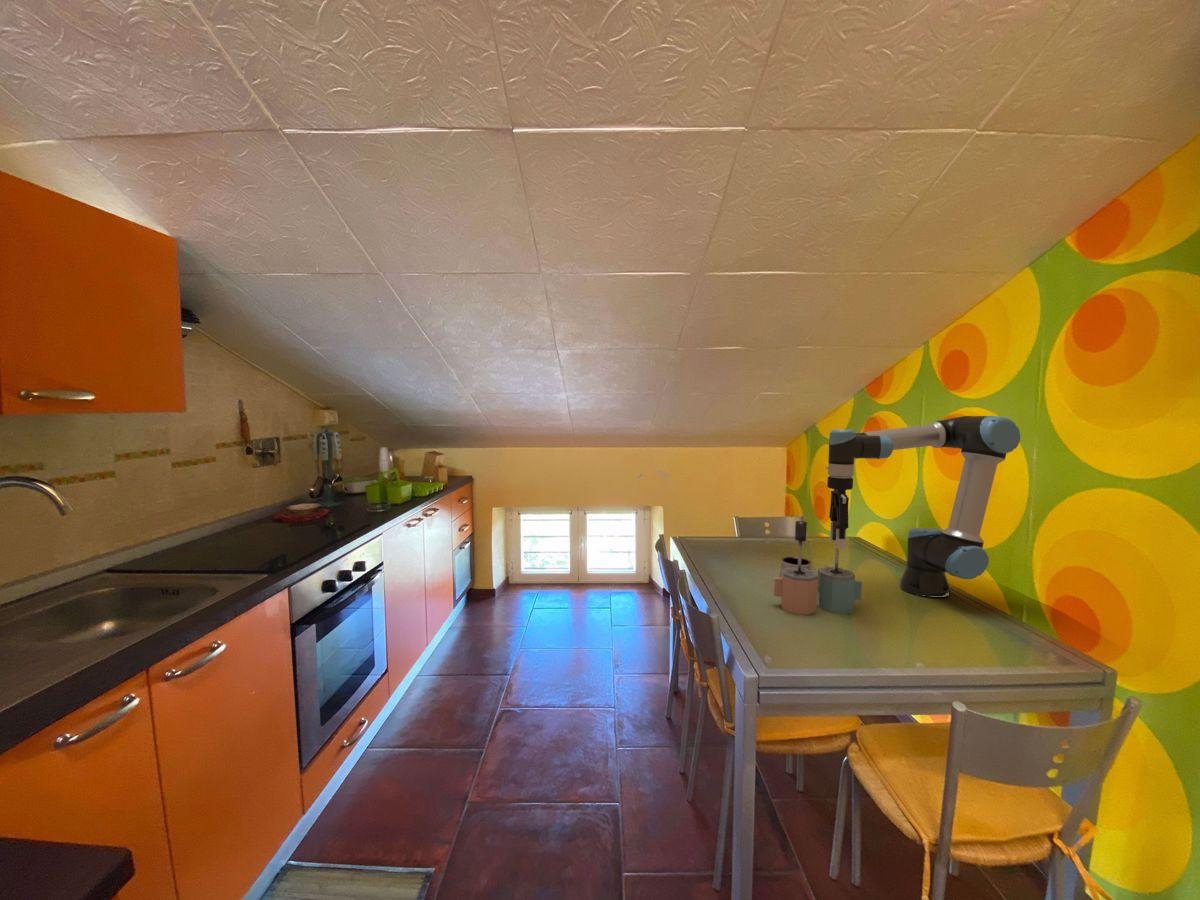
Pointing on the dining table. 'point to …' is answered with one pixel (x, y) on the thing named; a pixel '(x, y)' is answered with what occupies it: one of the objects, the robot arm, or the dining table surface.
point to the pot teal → (837, 590)
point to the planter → (794, 563)
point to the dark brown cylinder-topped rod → (836, 548)
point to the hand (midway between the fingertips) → (837, 544)
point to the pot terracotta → (797, 590)
